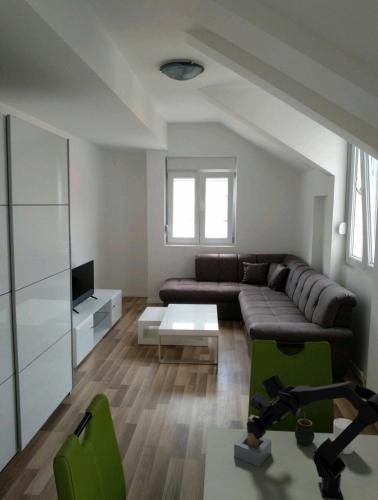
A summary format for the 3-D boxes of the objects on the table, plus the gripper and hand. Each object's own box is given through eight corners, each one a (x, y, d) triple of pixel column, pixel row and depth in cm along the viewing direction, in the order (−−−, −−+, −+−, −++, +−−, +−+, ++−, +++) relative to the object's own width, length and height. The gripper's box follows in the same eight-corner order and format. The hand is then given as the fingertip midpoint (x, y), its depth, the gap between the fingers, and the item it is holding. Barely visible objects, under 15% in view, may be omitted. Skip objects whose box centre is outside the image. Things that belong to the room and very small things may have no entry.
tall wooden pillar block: (258, 448, 146) (259, 417, 144) (254, 452, 143) (255, 420, 142) (250, 445, 147) (251, 414, 146) (247, 449, 145) (247, 418, 144)
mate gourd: (296, 447, 150) (297, 421, 149) (292, 435, 158) (293, 411, 157) (316, 447, 150) (317, 422, 149) (310, 436, 158) (311, 412, 157)
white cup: (351, 443, 153) (352, 418, 152) (357, 456, 145) (359, 430, 144) (330, 442, 154) (331, 417, 152) (335, 454, 146) (336, 428, 145)
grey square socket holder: (270, 452, 147) (271, 440, 146) (259, 466, 139) (259, 454, 138) (246, 443, 152) (246, 431, 152) (233, 456, 144) (234, 443, 144)
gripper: (275, 380, 148) (247, 399, 156) (252, 399, 133) (223, 420, 140) (294, 406, 144) (265, 425, 152) (274, 429, 129) (243, 449, 137)
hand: (249, 429), depth 145 cm, fingers closed on tall wooden pillar block, 3 cm apart
